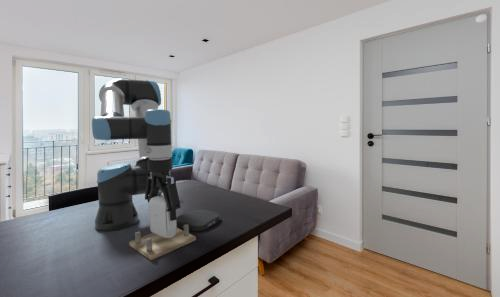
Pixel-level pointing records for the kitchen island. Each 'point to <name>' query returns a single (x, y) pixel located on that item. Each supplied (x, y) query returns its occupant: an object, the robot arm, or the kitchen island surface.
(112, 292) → the kitchen island surface
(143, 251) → the peg board
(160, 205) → the photo printer
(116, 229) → the robot arm
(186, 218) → the media streaming box
